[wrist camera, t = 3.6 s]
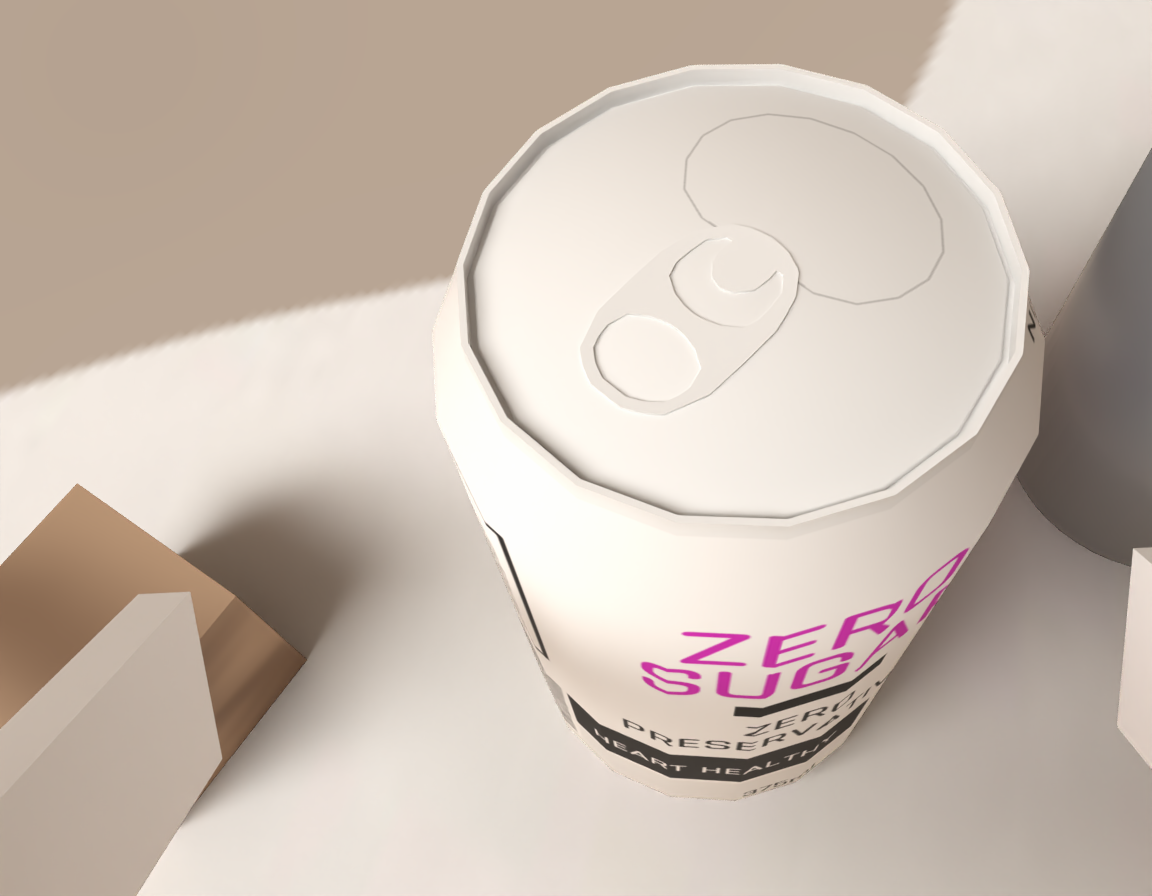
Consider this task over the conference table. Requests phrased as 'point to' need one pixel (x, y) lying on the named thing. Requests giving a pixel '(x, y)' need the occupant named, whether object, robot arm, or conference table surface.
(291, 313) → the conference table surface
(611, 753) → the supplement can
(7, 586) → the walnut block
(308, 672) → the conference table surface
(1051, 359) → the grey domed cylinder
